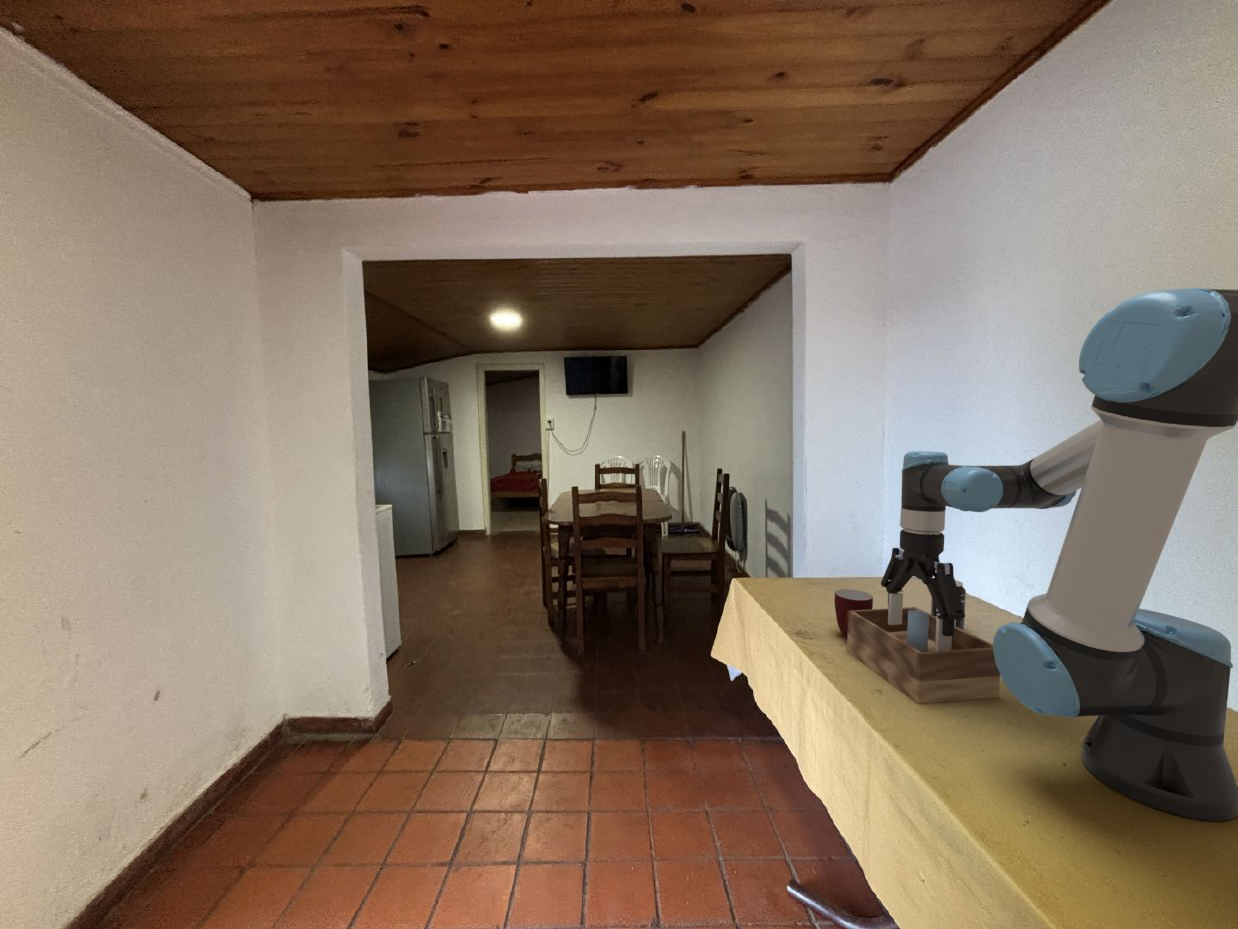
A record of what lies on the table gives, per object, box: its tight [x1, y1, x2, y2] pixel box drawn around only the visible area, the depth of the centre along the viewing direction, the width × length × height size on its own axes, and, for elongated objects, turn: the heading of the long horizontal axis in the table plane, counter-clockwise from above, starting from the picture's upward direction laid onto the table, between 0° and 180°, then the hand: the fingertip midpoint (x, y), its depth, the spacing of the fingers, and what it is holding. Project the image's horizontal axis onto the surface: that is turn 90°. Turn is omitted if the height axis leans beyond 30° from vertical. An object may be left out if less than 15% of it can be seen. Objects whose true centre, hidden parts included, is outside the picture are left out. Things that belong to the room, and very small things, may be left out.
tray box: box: [846, 606, 1001, 705], centre depth 104 cm, size 22×16×9 cm
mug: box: [833, 588, 874, 639], centre depth 121 cm, size 11×8×10 cm
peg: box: [907, 610, 930, 652], centre depth 104 cm, size 4×4×12 cm
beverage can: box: [930, 579, 967, 631], centre depth 125 cm, size 7×7×12 cm
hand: (917, 637), depth 104 cm, fingers open, 13 cm apart
